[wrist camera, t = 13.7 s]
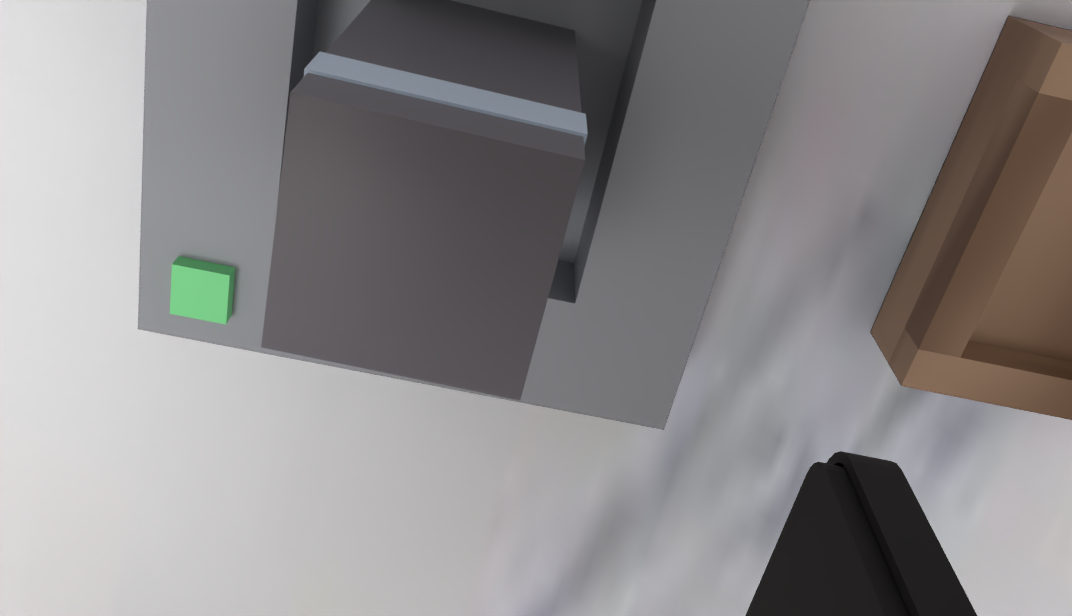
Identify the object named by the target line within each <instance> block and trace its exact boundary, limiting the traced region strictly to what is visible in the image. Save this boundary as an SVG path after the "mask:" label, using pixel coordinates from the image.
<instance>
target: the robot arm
mask: <svg viewBox="0 0 1072 616" xmlns="http://www.w3.org/2000/svg"><path fill="white" fill-rule="evenodd" d="M746 616H977V615H976V613H975V611H974V609H973V607H972V605H971V603H970V601H969V599H968V597H967V595H966V593H965V591H964V590H963V588H962V586H961V584H960V582H959V580H958V578H957V576H956V574H955V572H954V570H953V568H952V566H951V564H950V562H949V561H948V559H947V557H946V555H945V553H944V551H943V549H942V547H941V545H940V543H939V541H938V539H937V537H936V535H935V533H934V532H933V530H932V528H931V526H930V524H929V522H928V520H927V518H926V516H925V514H924V512H923V510H922V508H921V506H920V504H919V503H918V501H917V499H916V497H915V495H914V493H913V491H912V489H911V487H910V485H909V483H908V481H907V479H906V477H905V475H904V474H903V472H902V470H901V468H900V467H899V466H898V465H897V463H894V462H892V461H888V460H882V459H877V458H872V457H867V456H861V455H856V454H851V453H846V452H841V451H840V452H837V453H835V454H834V455H833V456H832V457H831V458H830V459H829V460H828V462H827V463H822V462H817V463H814V464H813V465H812V466H811V467H810V469H809V471H808V473H807V475H806V477H805V479H804V481H803V484H802V486H801V488H800V491H799V493H798V495H797V498H796V500H795V502H794V505H793V507H792V509H791V512H790V514H789V516H788V519H787V521H786V523H785V526H784V528H783V530H782V532H781V535H780V537H779V539H778V542H777V544H776V546H775V549H774V551H773V553H772V556H771V558H770V560H769V563H768V565H767V567H766V570H765V572H764V574H763V577H762V579H761V581H760V583H759V586H758V588H757V590H756V593H755V595H754V597H753V600H752V602H751V604H750V607H749V609H748V611H747V614H746Z"/></svg>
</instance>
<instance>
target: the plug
mask: <svg viewBox="0 0 1072 616" xmlns="http://www.w3.org/2000/svg"><path fill="white" fill-rule="evenodd" d="M587 135H588V132H587V121H586V114H584V113H582V112H581V100H580V87H579V75H578V63H577V50H576V38H575V30H571V29H567V28H563V27H559V26H555V25H551V24H547V23H542V22H538V21H534V20H530V19H526V18H522V17H518V16H514V15H509V14H505V13H501V12H497V11H493V10H489V9H485V8H481V7H476V6H472V5H468V4H464V3H460V2H456V1H452V0H371V1H370V2H369V3H368V4H367V5H366V6H365V7H364V9H363V10H362V11H361V12H360V13H359V14H358V15H357V17H356V18H355V19H354V20H353V21H352V22H351V24H350V25H349V26H348V27H347V28H346V29H345V30H344V32H343V33H342V34H341V35H340V36H339V37H338V38H337V40H336V41H335V42H334V43H333V44H332V45H331V46H330V48H329V49H328V50H327V51H326V52H325V53H324V52H319V53H318V54H317V55H316V56H315V57H314V58H313V60H312V61H311V62H310V63H309V64H308V65H307V66H306V67H305V69H304V77H303V79H302V80H301V81H300V82H299V83H298V84H297V86H296V87H295V88H294V89H293V90H292V91H291V93H290V102H289V111H288V119H287V128H286V137H285V145H284V154H283V162H282V171H281V180H280V188H279V197H278V206H277V214H276V223H275V231H274V240H273V249H272V257H271V266H270V275H269V283H268V292H267V300H266V309H265V318H264V326H263V335H262V344H261V347H262V348H267V349H271V350H276V351H281V352H286V353H291V354H296V355H301V356H306V357H310V358H315V359H320V360H325V361H330V362H335V363H340V364H345V365H349V366H354V367H359V368H364V369H369V370H374V371H379V372H384V373H388V374H393V375H398V376H403V377H408V378H413V379H418V380H423V381H427V382H432V383H437V384H442V385H447V386H452V387H457V388H461V389H466V390H471V391H476V392H481V393H486V394H491V395H496V396H500V397H505V398H510V399H515V400H521V396H522V392H523V389H524V385H525V381H526V378H527V374H528V370H529V366H530V363H531V359H532V355H533V352H534V348H535V344H536V341H537V337H538V333H539V330H540V326H541V322H542V318H543V315H544V311H545V307H546V304H547V300H548V296H549V293H550V289H551V285H552V281H553V278H554V274H555V270H556V267H557V263H558V259H559V256H560V252H561V248H562V244H563V241H564V237H565V233H566V230H567V226H568V222H569V219H570V215H571V211H572V208H573V204H574V200H575V196H576V193H577V189H578V185H579V182H580V178H581V174H582V171H583V167H584V163H585V150H584V146H585V142H586V139H587Z"/></svg>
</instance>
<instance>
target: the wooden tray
mask: <svg viewBox="0 0 1072 616" xmlns="http://www.w3.org/2000/svg"><path fill="white" fill-rule="evenodd" d="M871 334H872V336H873V338H874V339H875V341H876V343H877V345H878V346H879V348H880V350H881V351H882V353H883V355H884V357H885V358H886V360H887V362H888V364H889V365H890V367H891V369H892V370H893V372H894V374H895V376H896V377H897V379H898V381H899V383H900V384H901V386H905V387H910V388H915V389H920V390H925V391H930V392H935V393H940V394H945V395H950V396H955V397H960V398H965V399H970V400H975V401H980V402H985V403H990V404H995V405H1000V406H1005V407H1010V408H1015V409H1020V410H1025V411H1030V412H1035V413H1040V414H1045V415H1050V416H1055V417H1060V418H1065V419H1070V420H1072V31H1071V30H1066V29H1062V28H1058V27H1054V26H1049V25H1045V24H1041V23H1037V22H1032V21H1028V20H1024V19H1020V18H1015V17H1011V16H1008V19H1007V21H1006V23H1005V25H1004V28H1003V30H1002V32H1001V35H1000V37H999V39H998V41H997V44H996V46H995V48H994V51H993V53H992V55H991V57H990V60H989V62H988V64H987V67H986V69H985V71H984V74H983V76H982V78H981V80H980V83H979V85H978V87H977V90H976V92H975V94H974V96H973V99H972V101H971V103H970V106H969V108H968V110H967V112H966V115H965V117H964V119H963V122H962V124H961V126H960V128H959V131H958V133H957V135H956V138H955V140H954V142H953V144H952V147H951V149H950V151H949V154H948V156H947V158H946V160H945V163H944V165H943V167H942V170H941V172H940V174H939V176H938V179H937V181H936V183H935V186H934V188H933V190H932V193H931V195H930V197H929V199H928V202H927V204H926V206H925V209H924V211H923V213H922V215H921V218H920V220H919V222H918V225H917V227H916V229H915V231H914V234H913V236H912V238H911V241H910V243H909V245H908V247H907V250H906V252H905V254H904V257H903V259H902V261H901V263H900V266H899V268H898V270H897V273H896V275H895V277H894V279H893V282H892V284H891V286H890V289H889V291H888V293H887V295H886V298H885V300H884V302H883V305H882V307H881V309H880V312H879V314H878V316H877V318H876V321H875V323H874V325H873V328H872V330H871Z"/></svg>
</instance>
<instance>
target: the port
mask: <svg viewBox="0 0 1072 616" xmlns="http://www.w3.org/2000/svg"><path fill="white" fill-rule="evenodd" d="M370 1H371V0H147V15H146V52H145V89H144V127H143V164H142V201H141V238H140V275H139V312H138V329H140V330H145V331H150V332H156V333H161V334H166V335H171V336H177V337H182V338H187V339H192V340H198V341H203V342H208V343H213V344H218V345H224V346H229V347H234V348H239V349H245V350H250V351H255V352H260V353H266V354H271V355H276V356H281V357H286V358H292V359H297V360H302V361H307V362H313V363H318V364H323V365H328V366H334V367H339V368H344V369H349V370H354V371H360V372H365V373H370V374H375V375H381V376H386V377H391V378H396V379H402V380H407V381H412V382H417V383H422V384H428V385H433V386H438V387H443V388H449V389H454V390H459V391H464V392H470V393H475V394H480V395H485V396H490V397H496V398H501V399H506V400H511V401H517V402H522V403H527V404H532V405H538V406H543V407H548V408H553V409H558V410H564V411H569V412H574V413H579V414H585V415H590V416H595V417H600V418H606V419H611V420H616V421H621V422H626V423H632V424H637V425H642V426H647V427H653V428H658V429H663V430H664V427H665V425H666V422H667V419H668V416H669V413H670V410H671V407H672V404H673V401H674V398H675V395H676V392H677V389H678V386H679V383H680V380H681V377H682V375H683V372H684V369H685V366H686V363H687V360H688V357H689V354H690V351H691V348H692V345H693V342H694V339H695V336H696V333H697V330H698V327H699V324H700V322H701V319H702V316H703V313H704V310H705V307H706V304H707V301H708V298H709V295H710V292H711V289H712V286H713V283H714V280H715V277H716V274H717V272H718V269H719V266H720V263H721V260H722V257H723V254H724V251H725V248H726V245H727V242H728V239H729V236H730V233H731V230H732V227H733V224H734V221H735V219H736V216H737V213H738V210H739V207H740V204H741V201H742V198H743V195H744V192H745V189H746V186H747V183H748V180H749V177H750V174H751V171H752V169H753V166H754V163H755V160H756V157H757V154H758V151H759V148H760V145H761V142H762V139H763V136H764V133H765V130H766V127H767V124H768V121H769V118H770V116H771V113H772V110H773V107H774V104H775V101H776V98H777V95H778V92H779V89H780V86H781V83H782V80H783V77H784V74H785V71H786V68H787V66H788V63H789V60H790V57H791V54H792V51H793V48H794V45H795V42H796V39H797V36H798V33H799V30H800V27H801V24H802V21H803V18H804V15H805V13H806V10H807V7H808V4H809V1H810V0H452V1H456V2H460V3H464V4H468V5H472V6H476V7H481V8H485V9H489V10H493V11H497V12H501V13H505V14H509V15H514V16H518V17H522V18H526V19H530V20H534V21H538V22H542V23H547V24H551V25H555V26H559V27H563V28H567V29H571V30H575V38H576V50H577V63H578V75H579V87H580V100H581V112H582V113H584V114H586V121H587V132H588V135H587V139H586V142H585V146H584V150H585V163H584V167H583V171H582V174H581V178H580V182H579V185H578V189H577V193H576V196H575V200H574V204H573V208H572V211H571V215H570V219H569V222H568V226H567V230H566V233H565V237H564V241H563V244H562V248H561V252H560V256H559V259H558V263H557V267H556V270H555V274H554V278H553V281H552V285H551V289H550V293H549V296H548V300H547V304H546V307H545V311H544V315H543V318H542V322H541V326H540V330H539V333H538V337H537V341H536V344H535V348H534V352H533V355H532V359H531V363H530V366H529V370H528V374H527V378H526V381H525V385H524V389H523V392H522V396H521V400H515V399H510V398H505V397H500V396H496V395H491V394H486V393H481V392H476V391H471V390H466V389H461V388H457V387H452V386H447V385H442V384H437V383H432V382H427V381H423V380H418V379H413V378H408V377H403V376H398V375H393V374H388V373H384V372H379V371H374V370H369V369H364V368H359V367H354V366H349V365H345V364H340V363H335V362H330V361H325V360H320V359H315V358H310V357H306V356H301V355H296V354H291V353H286V352H281V351H276V350H271V349H267V348H262V347H261V344H262V335H263V326H264V318H265V309H266V300H267V292H268V283H269V275H270V266H271V257H272V249H273V240H274V231H275V223H276V214H277V206H278V197H279V188H280V180H281V171H282V162H283V154H284V145H285V137H286V128H287V119H288V111H289V102H290V93H291V91H292V90H293V89H294V88H295V87H296V86H297V84H298V83H299V82H300V81H301V80H302V79H303V77H304V69H305V67H306V66H307V65H308V64H309V63H310V62H311V61H312V60H313V58H314V57H315V56H316V55H317V54H318V53H319V52H324V53H325V52H326V51H327V50H328V49H329V48H330V46H331V45H332V44H333V43H334V42H335V41H336V40H337V38H338V37H339V36H340V35H341V34H342V33H343V32H344V30H345V29H346V28H347V27H348V26H349V25H350V24H351V22H352V21H353V20H354V19H355V18H356V17H357V15H358V14H359V13H360V12H361V11H362V10H363V9H364V7H365V6H366V5H367V4H368V3H369V2H370Z"/></svg>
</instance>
